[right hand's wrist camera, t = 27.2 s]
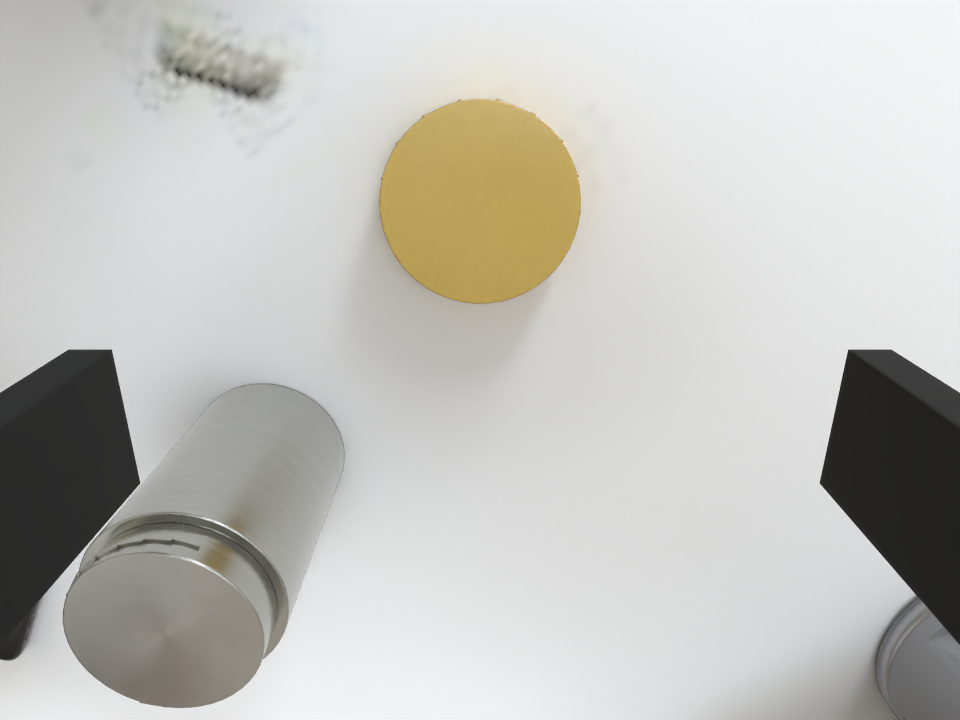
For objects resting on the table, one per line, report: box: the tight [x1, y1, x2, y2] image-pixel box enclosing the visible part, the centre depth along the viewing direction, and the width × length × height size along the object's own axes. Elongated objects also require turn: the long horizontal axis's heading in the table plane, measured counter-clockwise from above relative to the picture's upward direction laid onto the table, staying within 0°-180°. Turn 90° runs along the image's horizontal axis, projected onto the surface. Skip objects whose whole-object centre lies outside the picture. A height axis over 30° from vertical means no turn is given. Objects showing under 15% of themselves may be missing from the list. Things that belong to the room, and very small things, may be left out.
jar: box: [63, 384, 344, 708], centre depth 35 cm, size 9×9×15 cm
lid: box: [380, 99, 581, 303], centre depth 35 cm, size 10×10×2 cm
